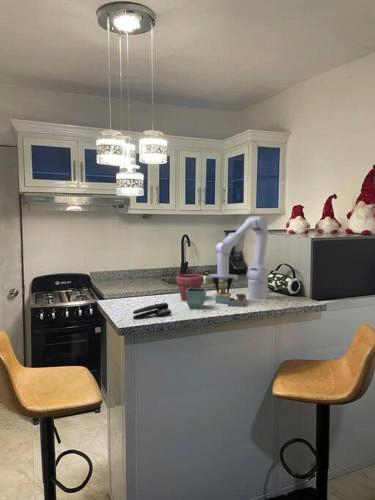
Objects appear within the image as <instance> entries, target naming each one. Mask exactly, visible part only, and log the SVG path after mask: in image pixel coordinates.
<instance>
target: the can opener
mask: <svg viewBox="0 0 375 500" xmlns="http://www.w3.org/2000/svg"><path fill="white" fill-rule="evenodd" d="M132 313H133V314H134V316H133V317H132V319H134V320H135V319H136V320H138V318H139V319H144V318H147V317H149V316H152V315H156V316H157V317H160V318H162V317H167V316H169V315H172V310H171V309H170V308H169V304H168V303H167V302H162V303H154V304H152V305H147V306H144V307H140V308H138V309H135V310H133V311H132Z"/></svg>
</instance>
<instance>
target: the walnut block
mask: <svg viewBox="0 0 375 500" xmlns="http://www.w3.org/2000/svg"><path fill="white" fill-rule="evenodd" d="M235 296H238V298H245V303H246V302H247V294H245V293H236V294H235Z"/></svg>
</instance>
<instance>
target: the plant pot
mask: <svg viewBox="0 0 375 500" xmlns="http://www.w3.org/2000/svg"><path fill="white" fill-rule="evenodd" d="M176 284H178V290H179V294H180V298H181V300H182V301H185V302H187V300H186V292H185V291H186V290H187V289H188V288H202V284H204V276H203V274H196V273H194V274H189V273H188V274H187V273H186V274H178V275H177V276H176Z"/></svg>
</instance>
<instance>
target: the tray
mask: <svg viewBox="0 0 375 500" xmlns="http://www.w3.org/2000/svg"><path fill="white" fill-rule="evenodd" d="M245 303H246V302H245V298H238V301H234V297H230V299H228V304H227V307H239V308H241V307H242V308H244V307H245V306H246V305H245Z"/></svg>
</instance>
